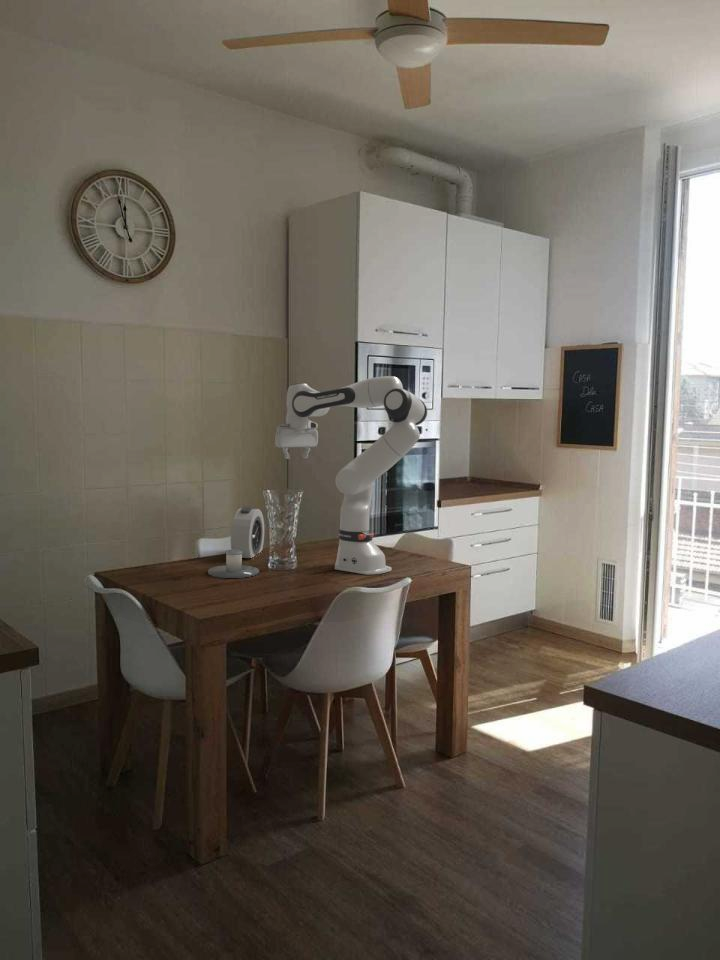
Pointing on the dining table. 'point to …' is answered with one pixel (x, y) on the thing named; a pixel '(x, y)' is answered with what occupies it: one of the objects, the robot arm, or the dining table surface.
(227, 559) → the cup
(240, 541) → the alarm clock
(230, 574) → the disc
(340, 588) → the dining table surface
